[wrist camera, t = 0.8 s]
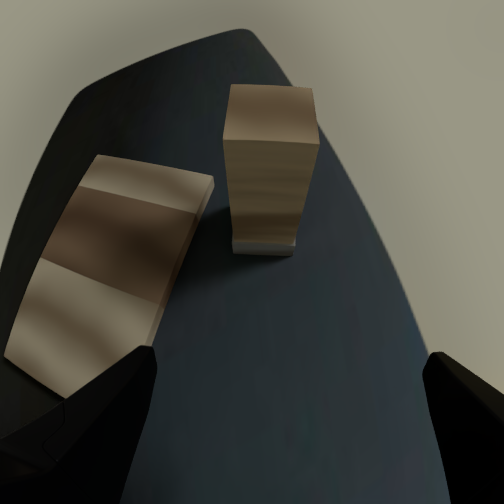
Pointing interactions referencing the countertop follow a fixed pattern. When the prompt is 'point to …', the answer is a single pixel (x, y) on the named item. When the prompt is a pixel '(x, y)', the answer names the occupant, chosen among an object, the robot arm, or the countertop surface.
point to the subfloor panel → (106, 270)
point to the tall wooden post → (268, 164)
